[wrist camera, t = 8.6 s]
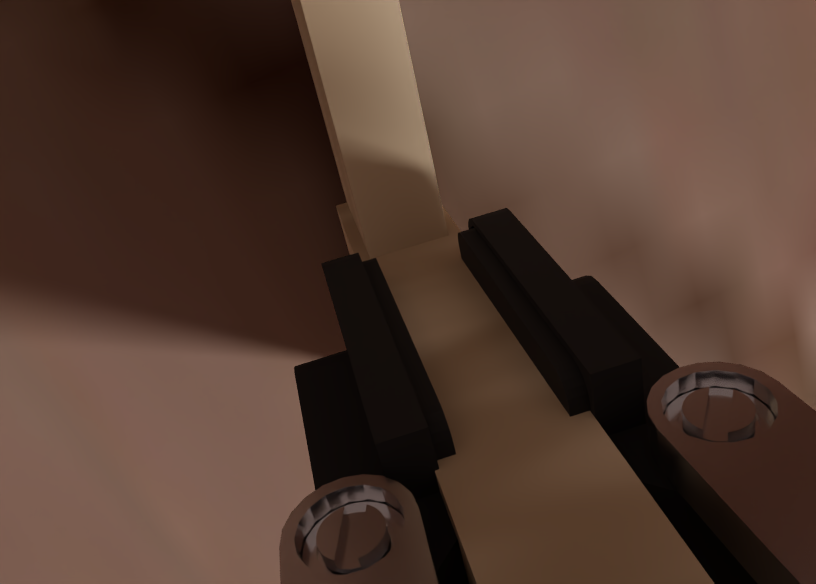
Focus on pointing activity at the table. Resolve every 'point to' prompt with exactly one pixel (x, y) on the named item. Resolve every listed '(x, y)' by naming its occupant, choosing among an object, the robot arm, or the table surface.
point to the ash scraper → (474, 341)
